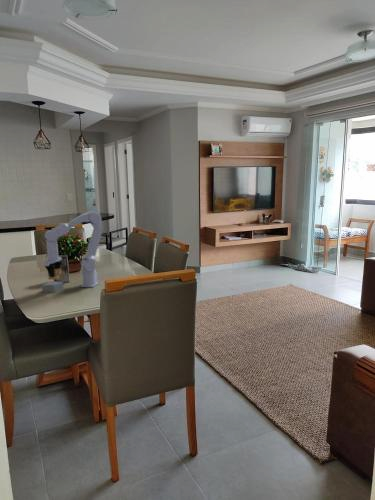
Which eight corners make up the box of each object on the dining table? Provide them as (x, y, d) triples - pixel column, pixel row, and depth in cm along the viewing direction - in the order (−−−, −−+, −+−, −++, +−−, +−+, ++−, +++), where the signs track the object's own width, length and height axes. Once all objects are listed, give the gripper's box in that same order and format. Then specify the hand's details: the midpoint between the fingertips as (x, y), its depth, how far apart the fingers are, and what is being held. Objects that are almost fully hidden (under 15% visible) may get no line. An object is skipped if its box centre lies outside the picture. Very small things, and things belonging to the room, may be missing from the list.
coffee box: (69, 279, 227) (67, 254, 224) (69, 282, 221) (67, 256, 218) (54, 280, 224) (52, 255, 221) (53, 283, 218) (51, 257, 215)
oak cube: (53, 276, 205) (52, 268, 204) (61, 277, 204) (60, 268, 203) (48, 279, 200) (47, 270, 199) (56, 279, 199) (56, 270, 198)
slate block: (52, 287, 210) (51, 281, 210) (63, 288, 208) (63, 282, 207) (42, 291, 203) (42, 285, 202) (54, 293, 200) (54, 286, 200)
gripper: (52, 249, 207) (54, 272, 209) (38, 254, 193) (40, 278, 195) (64, 249, 206) (65, 272, 208) (50, 254, 192) (53, 279, 194)
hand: (54, 275), depth 202 cm, fingers closed on oak cube, 5 cm apart
